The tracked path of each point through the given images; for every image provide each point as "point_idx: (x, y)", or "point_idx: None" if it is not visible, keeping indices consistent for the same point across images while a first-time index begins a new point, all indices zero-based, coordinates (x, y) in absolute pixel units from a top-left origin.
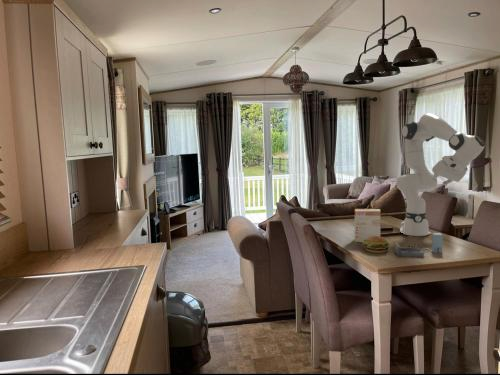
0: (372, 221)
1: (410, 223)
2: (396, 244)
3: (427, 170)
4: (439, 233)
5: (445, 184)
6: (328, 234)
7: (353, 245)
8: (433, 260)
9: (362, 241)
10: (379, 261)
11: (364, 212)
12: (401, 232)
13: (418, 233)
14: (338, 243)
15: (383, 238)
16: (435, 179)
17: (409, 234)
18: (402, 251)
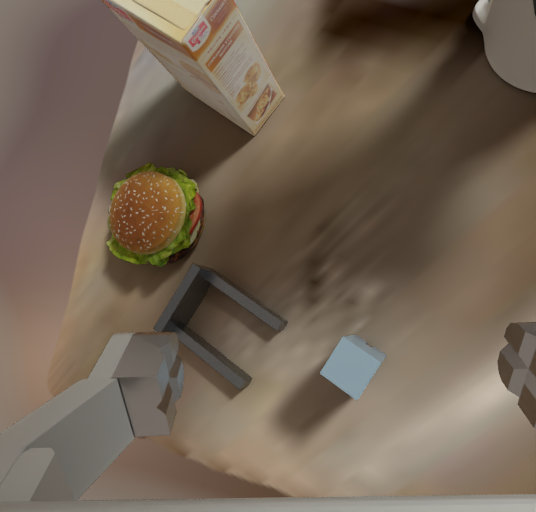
0: (183, 65)
1: (516, 4)
2: (178, 288)
3: None
4: (367, 367)
5: (521, 392)
6: None
7: (149, 132)
8: (244, 439)
9: (202, 101)
10: (87, 338)
11: (126, 14)
12: (475, 13)
13: (529, 78)
14: (126, 89)
15: (150, 231)
16: (125, 432)
17: (489, 56)
18: (180, 331)
